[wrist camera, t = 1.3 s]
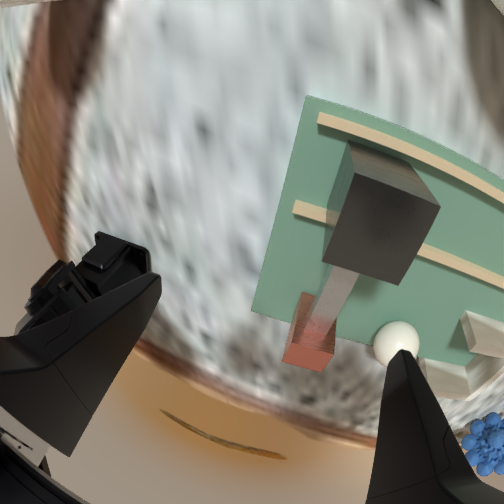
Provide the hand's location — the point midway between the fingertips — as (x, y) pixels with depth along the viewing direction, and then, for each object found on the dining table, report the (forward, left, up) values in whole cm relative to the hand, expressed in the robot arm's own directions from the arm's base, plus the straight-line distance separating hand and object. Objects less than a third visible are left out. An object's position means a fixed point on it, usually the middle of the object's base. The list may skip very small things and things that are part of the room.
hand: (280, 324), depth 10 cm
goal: (-9, -19, -12) cm, 24 cm away
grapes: (-23, -40, -12) cm, 48 cm away
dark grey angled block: (-3, -3, -11) cm, 11 cm away
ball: (-9, -11, -9) cm, 16 cm away
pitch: (-3, -11, -12) cm, 17 cm away
